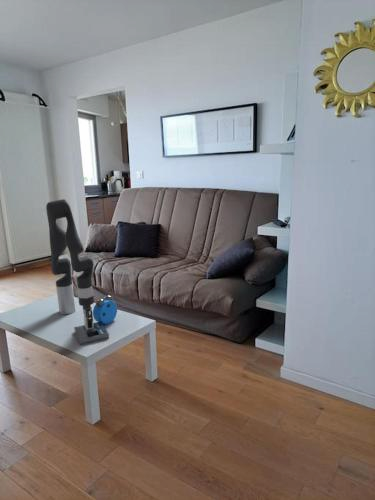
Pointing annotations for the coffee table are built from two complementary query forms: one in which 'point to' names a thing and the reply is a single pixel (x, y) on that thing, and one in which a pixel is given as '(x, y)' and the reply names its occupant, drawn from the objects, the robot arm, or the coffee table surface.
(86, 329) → the plug
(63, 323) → the coffee table surface
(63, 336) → the coffee table surface
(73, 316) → the coffee table surface
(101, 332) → the panel
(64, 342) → the coffee table surface
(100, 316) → the alarm clock
